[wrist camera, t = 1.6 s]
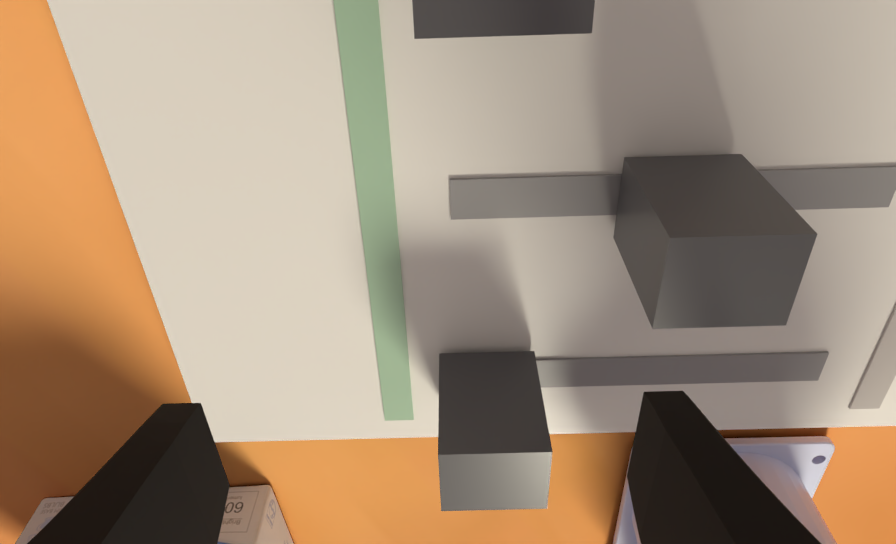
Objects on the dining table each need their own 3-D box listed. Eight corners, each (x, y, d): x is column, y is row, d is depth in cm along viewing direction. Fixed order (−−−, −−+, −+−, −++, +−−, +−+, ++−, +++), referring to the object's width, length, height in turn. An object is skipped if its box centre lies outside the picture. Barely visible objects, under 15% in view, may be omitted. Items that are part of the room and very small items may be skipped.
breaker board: (958, 383, 24) (998, 425, 22) (222, 401, 24) (205, 444, 23) (1338, -274, 13) (1471, -291, 12) (20, -225, 14) (-42, -235, 12)
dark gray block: (721, 234, 18) (786, 325, 14) (613, 237, 18) (652, 328, 14) (741, 153, 16) (817, 233, 13) (623, 157, 16) (670, 238, 13)
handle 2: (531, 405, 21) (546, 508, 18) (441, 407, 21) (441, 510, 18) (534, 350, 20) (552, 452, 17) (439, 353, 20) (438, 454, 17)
